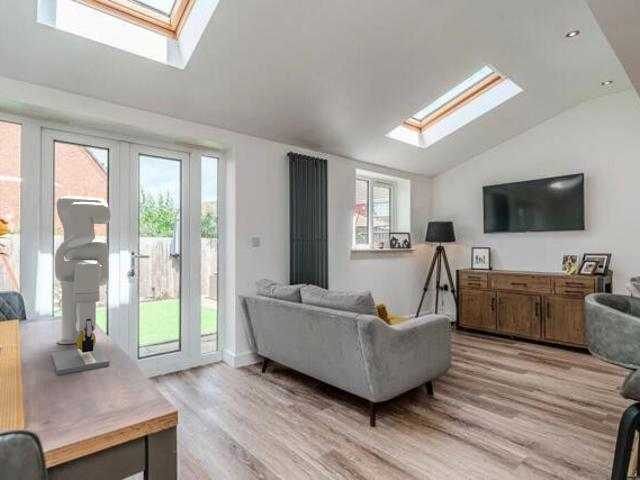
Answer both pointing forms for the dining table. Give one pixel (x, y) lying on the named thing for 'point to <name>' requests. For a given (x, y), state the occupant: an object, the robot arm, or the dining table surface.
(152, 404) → the dining table surface
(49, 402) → the dining table surface
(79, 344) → the lemon
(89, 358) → the strip
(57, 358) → the panel
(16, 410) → the dining table surface
